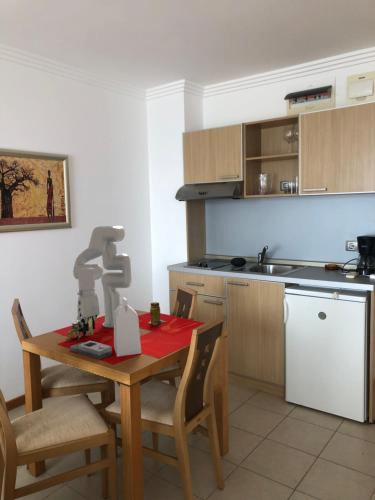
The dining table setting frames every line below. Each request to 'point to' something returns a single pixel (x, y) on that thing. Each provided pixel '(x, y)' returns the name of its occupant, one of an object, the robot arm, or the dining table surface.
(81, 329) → the passion flower
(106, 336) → the dining table surface
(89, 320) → the brass pin
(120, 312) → the milk
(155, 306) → the condiment
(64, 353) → the dining table surface
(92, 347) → the grey long rectangular block
